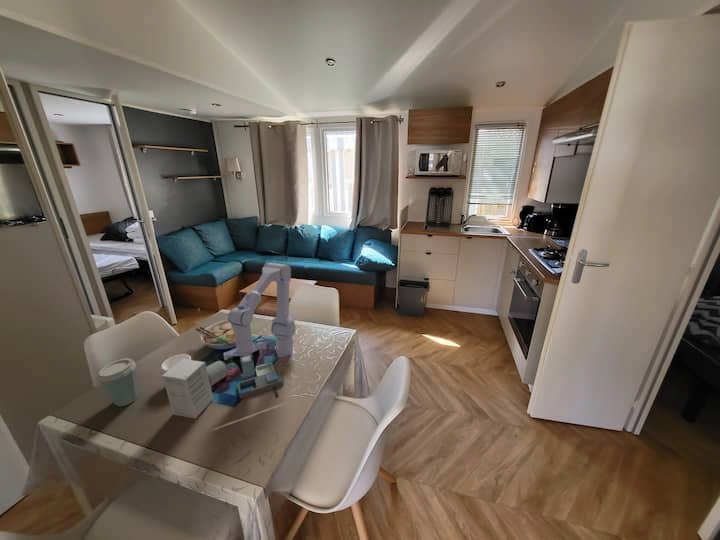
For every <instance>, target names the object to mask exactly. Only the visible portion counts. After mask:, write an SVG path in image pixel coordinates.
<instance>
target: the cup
mask: <svg viewBox="0 0 720 540" xmlns="http://www.w3.org/2000/svg"><path fill="white" fill-rule="evenodd" d="M183 359H187V360H192V357H191V356H190V355H189V354H186V353H181V354H176V355H173V356H171V357H169V358H167V359H165V360H164V361H163V362H162V364H161V365H160V367H161V371H162V372H163V374H165V373H166V372H167V371H168V370H170V369H171V368H172V367H174V366H175V365H176V364H177V363H179V362H180V361H181V360H183Z"/></svg>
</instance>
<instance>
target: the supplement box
mask: <svg viewBox="0 0 720 540" xmlns="http://www.w3.org/2000/svg"><path fill="white" fill-rule="evenodd" d="M206 367H207V365H206V361H199V360H193V359H191V360H187V359H183V360H181V361H180V362H179V363H177V364H176V365H175V366H174V367H172V368H171V369H170V370H168V371H167V372H166V373H163V374H162V375H161V377H162V382H163V384H164V388H165V390H166V391H165V392H166V393H167V397H168V401H169V405H170V407H171V411H172V414H173V415H175V416H180V417H184V418H190V419H197V418H198V417H199V415H201V413H202V412H203V411H204V410H205V409H206V408H207V407H208V406H209V405H210V403H212V402H213V399H214V396H213V391H212V386H210V382H209V377H208V373H207V369H206Z"/></svg>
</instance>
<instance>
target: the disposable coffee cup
mask: <svg viewBox="0 0 720 540" xmlns="http://www.w3.org/2000/svg"><path fill="white" fill-rule="evenodd" d="M136 368H137V364H136V362H135V360H133V359H132V358H129V357H126V358H121V359H117V360H115V361H113V362H110V363H108V364H107V365H105V366H103V367H102V368H101V369H100V370H99V372H98V373H97V374H96V375H97V381H99V383H100V384H101V385H102V387H103V389H104V391H105V392H106V393H107V394H108V396H109V397H110V399H111V400H112V402H113V403H114V405H116V406H117V407H124V406H127V405H129V404H132V403H133V402H134V401H135V400H136V399H137V398H138V395H139V390H138V382H137V380H138V379H137V371H136V370H137V369H136Z"/></svg>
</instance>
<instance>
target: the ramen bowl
mask: <svg viewBox="0 0 720 540" xmlns="http://www.w3.org/2000/svg"><path fill="white" fill-rule="evenodd" d="M250 325H251V331H252V329H253V326H252V322H251V323H250ZM195 331H197V332H200V338H199V339H200V340H201V341H202V342H203V343H204V345H206V346H208V347H210V348H212V349H215V350H227V349H232V348H234V347H235V348H236V342H235V336H234V330H233V328H232V326H231V323H229V322H228V319H225V320H220V321H217V322H214V323H212V324H211V325H209V326H207V327H206V328H204V327H202V326H199V328H195Z"/></svg>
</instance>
